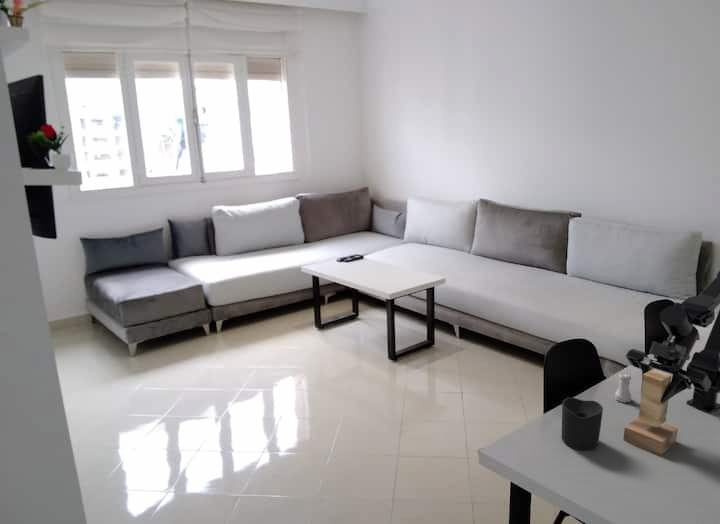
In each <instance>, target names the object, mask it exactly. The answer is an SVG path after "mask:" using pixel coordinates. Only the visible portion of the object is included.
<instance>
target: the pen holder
mask: <svg viewBox="0 0 720 524" xmlns="http://www.w3.org/2000/svg"><path fill="white" fill-rule="evenodd" d="M603 412H604V408H603V406H602V404H600V403H599V402H598V401H595V400H583V399H579V398H576V397H566V398H565V399H563V401H562V403H561V441H563V442H564V444H565V445H567V446H568V447H570V448H572V449H575V450H578V451H579V450H580V451H591V450H594V449H595V448H596V447H598V445H599V440H600V433H601V426H602V419H603V418H602V417H603Z"/></svg>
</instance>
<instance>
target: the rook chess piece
mask: <svg viewBox="0 0 720 524" xmlns="http://www.w3.org/2000/svg"><path fill="white" fill-rule="evenodd" d="M618 379H619V381H618V382H619V385H618V388H617V389H616V392H615V393H614V399H615V401H617V400H618V401H617V402H619V401H620V402H619V403H623V402H624V404H627V403H626V402H628V403H630V402H631V401H632V394H631V392H630V384H631V383H630V380H632V377H631V374H630V373H628V372H621V373H619V375H618Z"/></svg>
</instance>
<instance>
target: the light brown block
mask: <svg viewBox="0 0 720 524" xmlns="http://www.w3.org/2000/svg"><path fill="white" fill-rule="evenodd" d="M678 430H679V429H678V427H674V426H672V425H669V424H666V423H665V422H664V423H662V424H661V425H659V426H658V427H655V426H652V425H650V424H647V423H645V422H643V421H640V420H639V416H638V417H636V418H635V419H634V420H632V421H631V422H629V423H628V424H627V425H626V426H625V427H624V431H623V439H622V440H623V441H624V442H626V443H630V444H632V445H634V446H637V447H639V448H641V449H644V450H646V451H649V452H651V453H653V454H656V455H658V456H660V457H661V456H662V455H663V454H664V453H665V452H667V450H668V449H670V448H671V447H672V446H673V445H675V443H676V442H677V439H678V438H677V437H678Z"/></svg>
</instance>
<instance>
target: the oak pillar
mask: <svg viewBox="0 0 720 524" xmlns="http://www.w3.org/2000/svg"><path fill="white" fill-rule="evenodd" d="M671 380H672V374H669V373H667V372H664V371H661V370H658V369H652V370H650V371H648V372H646V373H645V374H643V381H642V380H641V387H642V391H641V390H640V402H639V411H638V412H639V413H638V417H639V420H640V421H643V422H645V423H647V424H650V425H652V426H655V427H658V426H659V425H661V424H662V423H664V424H665V423H666V422H667V415H668V407H669V406H668V405H669V400H667V401H666V402H664V403H662V402H661V399H662V396H663V394H664V393H665V391H666V389H667V388H668V386H669V384H670V382H671Z"/></svg>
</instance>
